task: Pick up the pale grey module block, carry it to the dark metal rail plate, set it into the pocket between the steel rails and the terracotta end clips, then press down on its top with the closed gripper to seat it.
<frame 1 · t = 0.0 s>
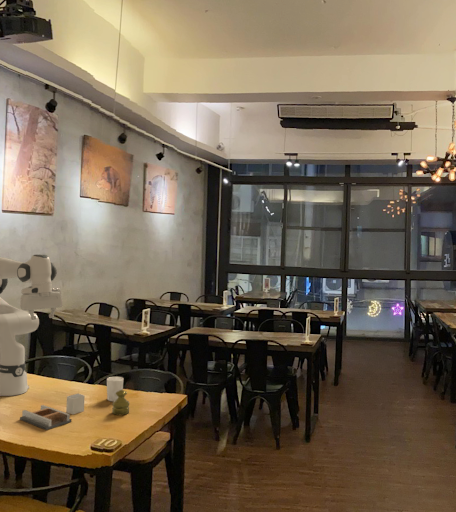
hand: (42, 318, 225), 39 cm above the table, tool pointing down, fingers open, 8 cm apart
module block: (75, 411, 214), on the table
white cup: (114, 399, 233), on the table
olive green tiered piece: (120, 413, 215), on the table
rail plate: (45, 420, 202), on the table
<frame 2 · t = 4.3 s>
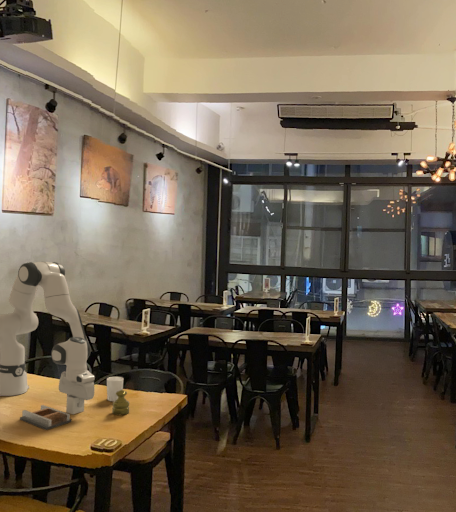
hand: (75, 405, 214), 3 cm above the table, tool pointing down, fingers closed on module block, 4 cm apart
module block: (75, 411, 214), on the table, touching gripper
everything else where it was.
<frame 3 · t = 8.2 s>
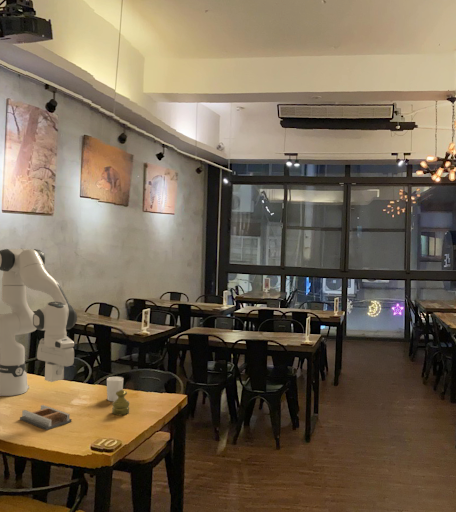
hand: (54, 373, 204), 19 cm above the table, tool pointing down, fingers closed on module block, 4 cm apart
module block: (54, 379, 204), point 17 cm above the table, touching gripper
everything else where it was.
when the fingers open (5 cm above the table, at t = 12.0 s): module block drops 1 cm, resting on rail plate.
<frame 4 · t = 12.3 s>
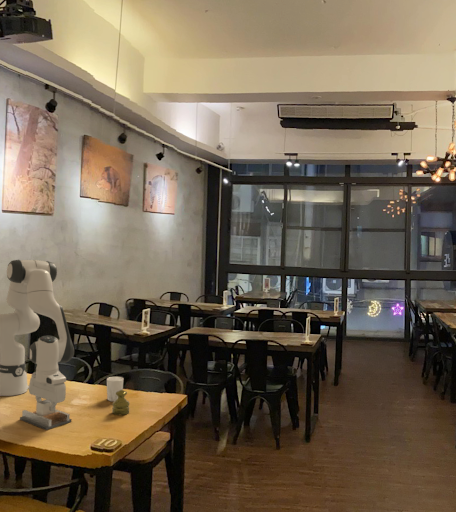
hand: (46, 408, 202), 5 cm above the table, tool pointing down, fingers open, 7 cm apart
module block: (45, 418, 202), point 1 cm above the table, touching rail plate
everything else where it was.
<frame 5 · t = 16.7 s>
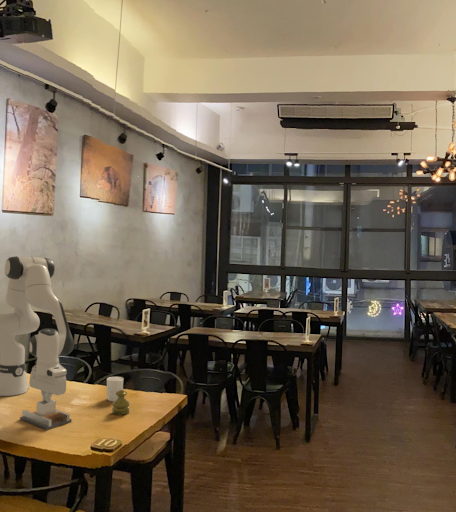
hand: (46, 401, 202), 8 cm above the table, tool pointing down, fingers closed, pressing on module block
module block: (45, 418, 202), point 1 cm above the table, touching gripper, rail plate
everything else where it was.
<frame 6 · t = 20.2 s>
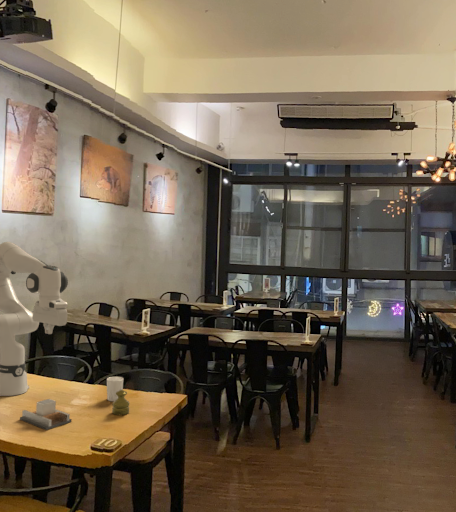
hand: (48, 333, 214), 34 cm above the table, tool pointing down, fingers closed
module block: (45, 418, 202), point 1 cm above the table, touching rail plate
everything else where it was.
at the end: module block 0.1 cm off-centre on the rail plate, point 1.0 cm above the rail plate's base; module block tilted 0°; the gripper is holding nothing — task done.
